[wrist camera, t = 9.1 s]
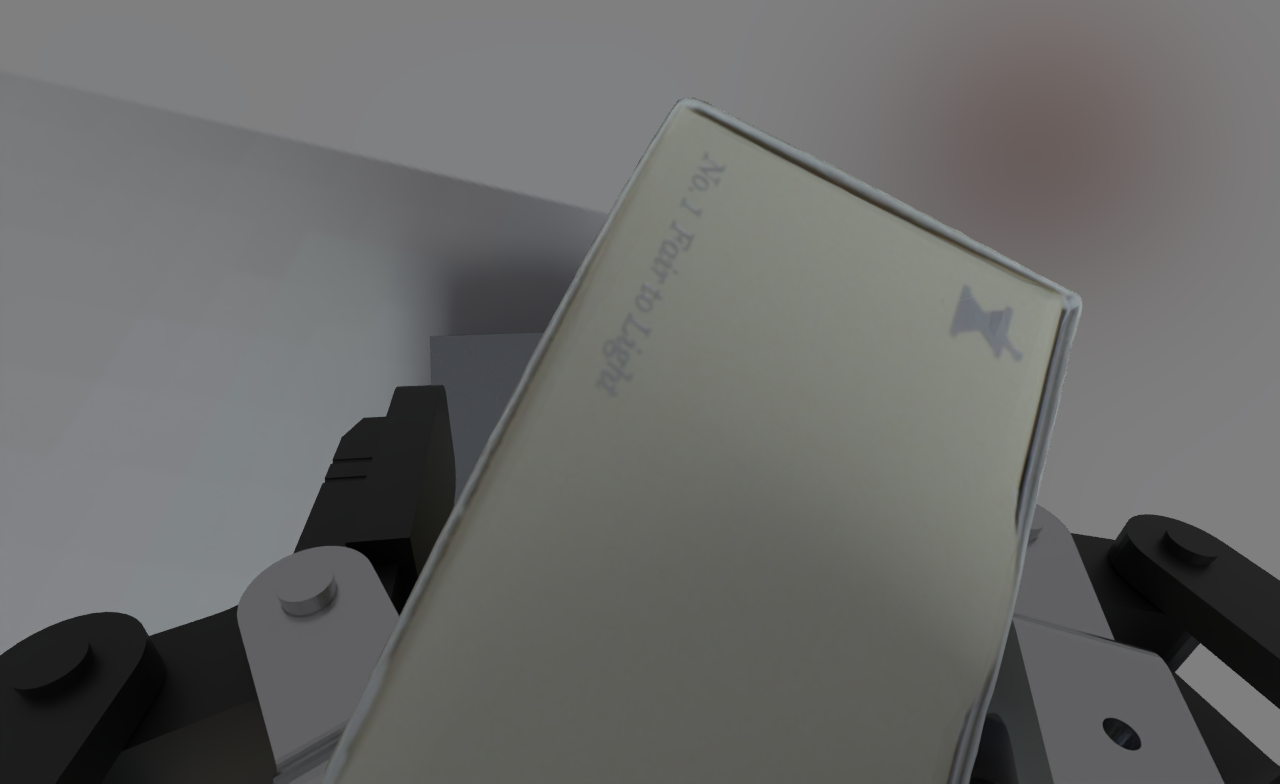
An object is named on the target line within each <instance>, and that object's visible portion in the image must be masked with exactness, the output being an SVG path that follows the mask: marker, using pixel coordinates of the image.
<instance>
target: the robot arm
mask: <svg viewBox="0 0 1280 784" xmlns="http://www.w3.org/2000/svg"><path fill="white" fill-rule="evenodd" d="M455 491H456V467H455V456H454V449H453V441H452V434H451V426H450V419H449V411H448V404H447V397H446V391H445V388H444V386H443V385H427V386H402V387H396V389H395V391H394V394H393V397H392V400H391V403H390V407H389V410H388V413H387V416H386V417H372V418H363V419H362V420H361V421H360V422H358V423H357V424H356V425H355V426H354V427H353V428H352V429H351V430H350V431H348V432H347V433H346V434H345V435H344V436H343V437H342V438H341V441H340V443H339V446H338V448H337V450H336V453H335V455H334V458H333V464H331V465H330V467H329V469H328V472H327V474H326V477H325V483H323V484H322V486H321V489H320V491H319V493H318V496H317V498H316V501H315V503H314V505H313V508H312V510H311V513H310V515H309V517H308V520H307V522H306V525H305V527H304V529H303V532H302V534H301V537H300V539H299V541H298V544H297V546H296V548H295V551H294V553H293V554H292V555H289V556H287V557H285V558H283V559H281V560H279V561H278V562H276V563H274V564H272V565H271V566H270V567H268V568H267V569H266V570H264V571H263V572H262V573H261V574H259V575H258V576H257V577H256V578H255V579H254V580H253V581H252V582H251V584H250V585H249V586H248V587H247V589H246V590H245V592H244V593H243V595H242V597H241V599H240V602H239V604H238V605H237V606H235V607H233V608H230V609H228V610H226V611H223V612H220V613H218V614H215V615H212V616H209V617H206V618H203V619H200V620H197V621H194V622H191V623H188V624H185V625H182V626H179V627H176V628H172V629H169V630H166V631H163V632H160V633H157V634H154V635H151V636H148V634H147V632H146V630H145V629H144V627H143V625H142V624H141V623H140V622H139V621H138V620H137V619H136V618H134V617H132V616H129V615H127V614H122V613H117V612H102V613H92V614H87V615H82V616H78V617H75V618H71V619H68V620H65V621H62V622H59V623H57V624H54V625H52V626H49V627H47V628H45V629H43V630H41V631H39V632H37V633H35V634H33V635H31V636H29V637H28V638H26V639H24V640H22V641H21V642H19V643H17V644H16V645H14V646H13V647H12V648H10V649H9V650H7V651H6V652H4V653H3V654H2V655H0V784H320V782H321V779H322V776H323V774H324V771H325V769H326V766H327V764H328V761H329V759H330V757H331V755H332V753H333V751H334V749H335V747H336V745H337V743H338V741H339V739H340V737H341V735H342V733H343V731H344V729H345V727H346V725H347V723H348V721H349V719H350V717H351V715H352V713H353V711H354V709H355V706H356V704H357V702H358V700H359V697H360V695H361V693H362V691H363V688H364V686H365V684H366V681H367V679H368V677H369V675H370V674H371V672H372V670H373V668H374V666H375V664H376V662H377V660H378V658H379V656H380V654H381V652H382V650H383V648H384V646H385V644H386V642H387V640H388V638H389V636H390V634H391V632H392V630H393V628H394V626H395V624H396V622H397V620H398V618H399V616H400V614H401V612H402V610H403V608H404V606H405V604H406V602H407V600H408V598H409V596H410V594H411V592H412V590H413V588H414V586H415V584H416V582H417V580H418V577H419V575H420V573H421V571H422V569H423V567H424V565H425V563H426V561H427V559H428V557H429V555H430V553H431V551H432V549H433V547H434V545H435V543H436V541H437V539H438V537H439V535H440V533H441V531H442V529H443V527H444V526H445V524H446V522H447V520H448V518H449V516H450V514H451V512H452V510H453V508H454V500H455ZM1200 643H1201V644H1202V645H1203V646H1205V647H1206V648H1207V649H1208V650H1210V651H1211V652H1212V653H1213V654H1214V655H1215V656H1217V657H1218V658H1219V659H1220V660H1222V661H1223V662H1224V663H1225V664H1226V665H1227V666H1229V667H1230V668H1231V669H1232V670H1233V671H1235V672H1236V673H1237V674H1238V675H1240V676H1241V677H1242V678H1243V679H1244V680H1245V681H1247V682H1248V683H1249V684H1250V685H1251V686H1253V687H1254V688H1255V689H1256V690H1257V691H1259V692H1260V693H1261V694H1262V695H1263V696H1265V697H1266V698H1267V699H1268V700H1269V701H1271V702H1272V703H1273V704H1274V705H1275V706H1277V707H1278V708H1279V709H1280V581H1279V580H1278V579H1276V578H1275V577H1273V576H1272V575H1271V574H1269V573H1268V572H1266V571H1265V570H1263V569H1262V568H1260V567H1259V566H1257V565H1256V564H1254V563H1253V562H1251V561H1250V560H1248V559H1247V558H1246V557H1244V556H1243V555H1241V554H1240V553H1238V552H1237V551H1235V550H1234V549H1232V548H1231V547H1229V546H1228V545H1226V544H1225V543H1223V542H1222V541H1220V540H1219V539H1217V538H1216V537H1214V536H1212V535H1210V534H1209V533H1207V532H1205V531H1203V530H1201V529H1199V528H1197V527H1194V526H1192V525H1189V524H1187V523H1184V522H1181V521H1179V520H1175V519H1172V518H1168V517H1164V516H1158V515H1138V516H1134V517H1132V518H1131V519H1129V521H1128V522H1127V523H1126V525H1125V526H1124V528H1123V530H1122V531H1121V533H1120V534H1119V535H1118V537H1117V539H1116V540H1112V539H1105V538H1099V537H1092V536H1086V535H1079V534H1073V533H1070V532H1069V530H1068V529H1067V528H1066V526H1065V525H1064V524H1063V523H1062V522H1061V521H1060V520H1059V519H1058V518H1057V517H1055V516H1054V515H1053V514H1051V513H1050V512H1049V511H1047V510H1046V509H1044V508H1043V507H1041V506H1039V505H1037V504H1036V508H1035V512H1034V516H1033V521H1032V525H1031V529H1030V533H1029V538H1028V544H1027V549H1026V555H1025V560H1024V566H1023V571H1022V576H1021V580H1020V585H1019V590H1018V594H1017V599H1016V603H1015V608H1014V612H1013V617H1012V622H1011V626H1010V630H1009V633H1008V637H1007V641H1006V645H1005V649H1004V653H1003V657H1002V661H1001V665H1000V669H999V673H998V677H997V681H996V684H995V688H994V692H993V695H992V698H991V700H990V703H989V706H988V709H987V713H986V717H985V721H984V725H983V730H982V734H981V738H980V743H979V748H978V752H977V756H976V759H975V763H974V766H973V769H972V773H971V777H970V782H969V784H1280V766H1278V765H1277V764H1276V763H1275V762H1273V761H1272V760H1271V759H1270V758H1269V757H1268V756H1266V755H1265V754H1264V753H1263V752H1262V751H1261V750H1260V749H1259V748H1258V747H1256V745H1254V744H1253V743H1252V742H1251V741H1250V740H1249V739H1248V738H1247V737H1245V736H1244V735H1243V734H1242V733H1241V732H1240V731H1239V730H1238V729H1237V728H1236V727H1234V726H1233V725H1232V724H1231V723H1230V722H1229V721H1228V720H1227V719H1226V718H1225V717H1223V716H1222V715H1221V714H1220V713H1219V712H1218V711H1217V710H1216V709H1215V708H1213V707H1212V706H1211V705H1210V704H1209V703H1208V702H1207V701H1206V700H1205V699H1204V698H1202V697H1201V696H1200V695H1199V694H1198V693H1197V692H1196V691H1195V690H1194V689H1192V688H1191V687H1190V686H1189V685H1188V684H1187V683H1186V682H1185V681H1184V680H1182V679H1181V678H1180V677H1179V676H1178V675H1177V674H1176V673H1175V671H1176V670H1177V669H1178V668H1179V667H1180V666H1181V664H1182V663H1183V662H1184V661H1185V660H1186V659H1187V658H1188V657H1189V655H1190V654H1191V653H1192V652H1193V651H1194V650H1195V648H1196V647H1197V646H1198V645H1199V644H1200Z"/></svg>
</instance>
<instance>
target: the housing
mask: <svg viewBox="0 0 1280 784" xmlns="http://www.w3.org/2000/svg"><path fill="white" fill-rule="evenodd" d="M543 334H544V332H536V333H509V334H482V335H456V336H430V349H431V385H443V386H444V388H445V391H446V397H447V404H448V411H449V419H450V426H451V434H452V441H453V449H454V456H455V467H456V491H455V500H454V506H455V504H456V502H457V500H458V498H459V496H460V494H461V492H462V490H463V488H464V486H465V484H466V482H467V480H468V478H469V476H470V474H471V472H472V470H473V468H474V466H475V464H476V463H477V461H478V459H479V457H480V455H481V453H482V451H483V449H484V447H485V445H486V443H487V441H488V439H489V437H490V435H491V433H492V432H493V430H494V428H495V426H496V424H497V422H498V420H499V418H500V416H501V414H502V412H503V410H504V408H505V406H506V404H507V403H508V401H509V399H510V397H511V395H512V393H513V391H514V389H515V388H516V386H517V384H518V382H519V380H520V378H521V376H522V374H523V372H524V370H525V368H526V366H527V364H528V362H529V360H530V358H531V356H532V354H533V353H534V351H535V349H536V347H537V345H538V343H539V341H540V339H541V337H542V336H543Z"/></svg>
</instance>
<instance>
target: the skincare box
mask: <svg viewBox="0 0 1280 784" xmlns="http://www.w3.org/2000/svg"><path fill="white" fill-rule="evenodd" d="M1081 312H1082V299H1081V297H1080V296H1079V294H1077V293H1075V292H1073V291H1071V290H1069V289H1067V288H1065V287H1063V286H1061V285H1058V284H1057V283H1055V282H1053V281H1050V280H1049V279H1046V278H1044V277H1042V276H1040V275H1038V274H1036V273H1034V272H1032V271H1031V270H1029V269H1028V268H1026V267H1024V266H1022V265H1021V264H1019V263H1017V262H1015V261H1013V260H1012V259H1010V258H1008V257H1006V256H1004V255H1002V254H1000V253H998V252H996V251H994V250H993V249H991V248H989V247H988V246H986V245H983V244H981V243H979V242H977V241H975V240H973V239H971V238H969V237H968V236H966V235H965V234H963V233H962V232H960V231H958V230H956V229H953V228H951V227H948V226H946V225H945V224H943V223H941V222H940V221H938V220H936V219H935V218H933V217H931V216H929V215H927V214H925V213H923V212H921V211H919V210H916V209H915V208H913V207H911V206H909V205H907V204H905V203H903V202H901V201H899V200H897V199H895V198H894V197H892V196H890V195H888V194H886V193H884V192H882V191H881V190H879V189H877V188H874V187H872V186H870V185H868V184H867V183H865V182H863V181H861V180H859V179H857V178H855V177H853V176H851V175H850V174H848V173H846V172H845V171H843V170H842V169H840V168H838V167H836V166H834V165H832V164H829V163H827V162H825V161H823V160H821V159H819V158H817V157H815V156H814V155H812V154H809V153H807V152H805V151H802V150H800V149H798V148H796V147H794V146H792V145H790V144H788V143H786V142H784V141H782V140H780V139H778V138H776V137H774V136H772V135H770V134H768V133H766V132H764V131H762V130H760V129H758V128H756V127H754V126H752V125H750V124H748V123H746V122H744V121H742V120H740V119H738V118H736V117H734V116H732V115H730V114H728V113H726V112H724V111H722V110H720V109H718V108H716V107H714V106H712V105H711V104H709V103H707V102H705V101H702V100H698V99H696V98H683V99H681V100H678V101H677V103H676V104H675V105H674V107H673V108H672V110H671V111H670V112H669V114H668V116H667V117H666V119H665V120H664V122H663V123H662V125H661V126H660V128H659V130H658V131H657V133H656V135H655V136H654V138H653V139H652V141H651V143H650V144H649V146H648V148H647V149H646V151H645V152H644V154H643V156H642V158H641V159H640V161H639V163H638V165H637V166H636V168H635V170H634V172H633V173H632V175H631V177H630V179H629V180H628V182H627V183H626V185H625V186H624V188H623V189H622V191H621V193H620V194H619V196H618V198H617V200H616V202H615V204H614V206H613V208H612V209H611V211H610V213H609V215H608V217H607V219H606V220H605V222H604V224H603V226H602V228H601V229H600V231H599V233H598V235H597V236H596V238H595V240H594V241H593V243H592V245H591V247H590V248H589V250H588V252H587V254H586V256H585V258H584V259H583V261H582V263H581V265H580V267H579V269H578V271H577V273H576V275H575V277H574V278H573V280H572V282H571V284H570V285H569V287H568V289H567V291H566V293H565V294H564V296H563V298H562V300H561V302H560V304H559V306H558V307H557V309H556V311H555V313H554V315H553V317H552V319H551V320H550V322H549V324H548V326H547V328H546V330H545V332H544V334H543V336H542V337H541V339H540V341H539V343H538V345H537V347H536V349H535V351H534V353H533V354H532V356H531V358H530V360H529V362H528V364H527V366H526V368H525V370H524V372H523V374H522V376H521V378H520V380H519V382H518V384H517V386H516V388H515V389H514V391H513V393H512V395H511V397H510V399H509V401H508V403H507V404H506V406H505V408H504V410H503V412H502V414H501V416H500V418H499V420H498V422H497V424H496V426H495V428H494V430H493V432H492V433H491V435H490V437H489V439H488V441H487V443H486V445H485V447H484V449H483V451H482V453H481V455H480V457H479V459H478V461H477V463H476V464H475V466H474V468H473V470H472V472H471V474H470V476H469V478H468V480H467V482H466V484H465V486H464V488H463V490H462V492H461V494H460V496H459V498H458V500H457V502H456V504H455V506H454V508H453V510H452V512H451V514H450V516H449V518H448V520H447V522H446V524H445V526H444V527H443V529H442V531H441V533H440V535H439V537H438V539H437V541H436V543H435V545H434V547H433V549H432V551H431V553H430V555H429V557H428V559H427V561H426V563H425V565H424V567H423V569H422V571H421V573H420V575H419V577H418V580H417V582H416V584H415V586H414V588H413V590H412V592H411V594H410V596H409V598H408V600H407V602H406V604H405V606H404V608H403V610H402V612H401V614H400V616H399V618H398V620H397V622H396V624H395V626H394V628H393V630H392V632H391V634H390V636H389V638H388V640H387V642H386V644H385V646H384V648H383V650H382V652H381V654H380V656H379V658H378V660H377V662H376V664H375V666H374V668H373V670H372V672H371V674H370V675H369V677H368V679H367V681H366V684H365V686H364V688H363V691H362V693H361V695H360V697H359V700H358V702H357V704H356V706H355V709H354V711H353V713H352V715H351V717H350V719H349V721H348V723H347V725H346V727H345V729H344V731H343V733H342V735H341V737H340V739H339V741H338V743H337V745H336V747H335V749H334V751H333V753H332V755H331V757H330V759H329V761H328V764H327V766H326V769H325V771H324V774H323V776H322V779H321V782H320V784H969V782H970V777H971V773H972V769H973V766H974V763H975V759H976V756H977V752H978V748H979V743H980V738H981V734H982V730H983V725H984V721H985V717H986V713H987V709H988V706H989V703H990V700H991V698H992V695H993V692H994V688H995V684H996V681H997V677H998V673H999V669H1000V665H1001V661H1002V657H1003V653H1004V649H1005V645H1006V641H1007V637H1008V633H1009V630H1010V626H1011V622H1012V617H1013V612H1014V608H1015V603H1016V599H1017V594H1018V590H1019V585H1020V580H1021V576H1022V571H1023V566H1024V560H1025V555H1026V549H1027V544H1028V538H1029V533H1030V529H1031V525H1032V521H1033V516H1034V512H1035V508H1036V504H1037V499H1038V495H1039V490H1040V485H1041V482H1042V478H1043V474H1044V469H1045V461H1046V458H1047V454H1048V451H1049V447H1050V443H1051V439H1052V435H1053V430H1054V422H1055V419H1056V416H1057V412H1058V408H1059V403H1060V397H1061V393H1062V389H1063V386H1064V382H1065V378H1066V371H1067V363H1068V358H1069V355H1070V352H1071V348H1072V344H1073V340H1074V337H1075V333H1076V330H1077V326H1078V322H1079V319H1080V315H1081Z"/></svg>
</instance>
